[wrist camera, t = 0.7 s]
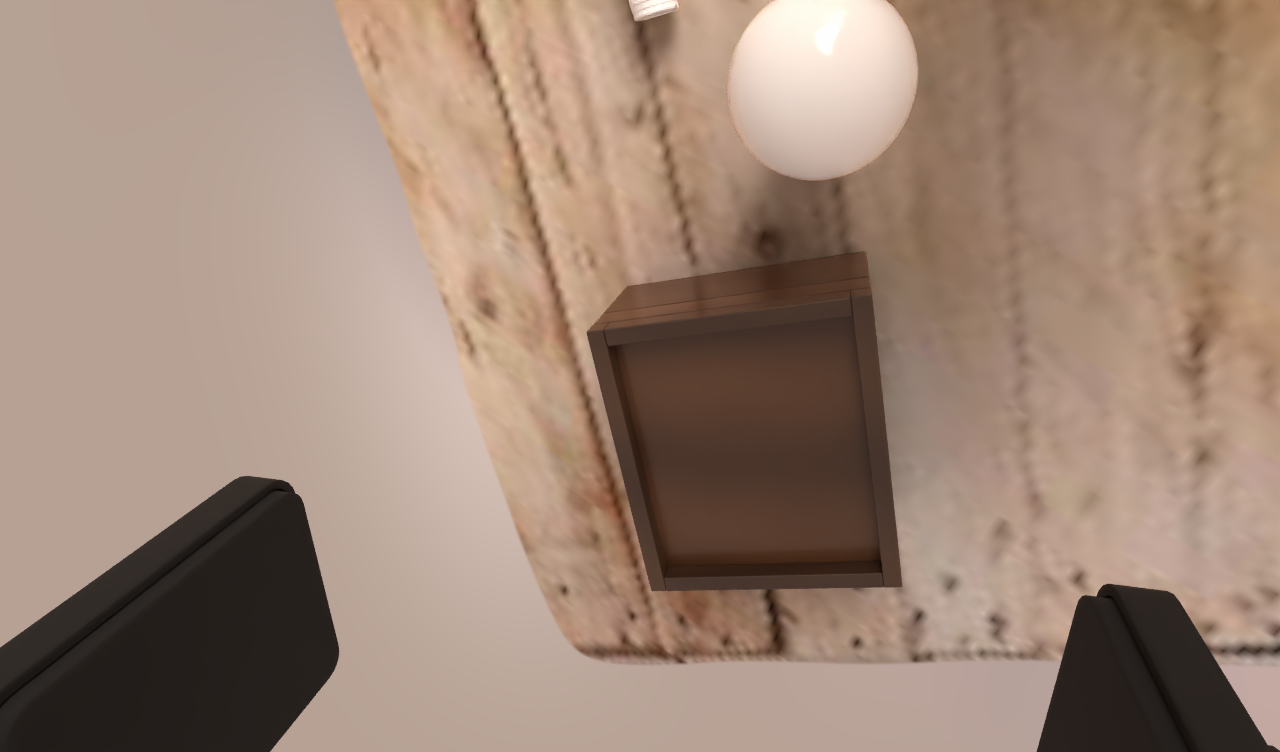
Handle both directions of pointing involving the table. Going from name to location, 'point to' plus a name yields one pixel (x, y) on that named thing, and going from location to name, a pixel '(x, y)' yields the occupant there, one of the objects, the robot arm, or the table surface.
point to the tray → (753, 427)
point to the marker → (651, 8)
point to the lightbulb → (822, 85)
